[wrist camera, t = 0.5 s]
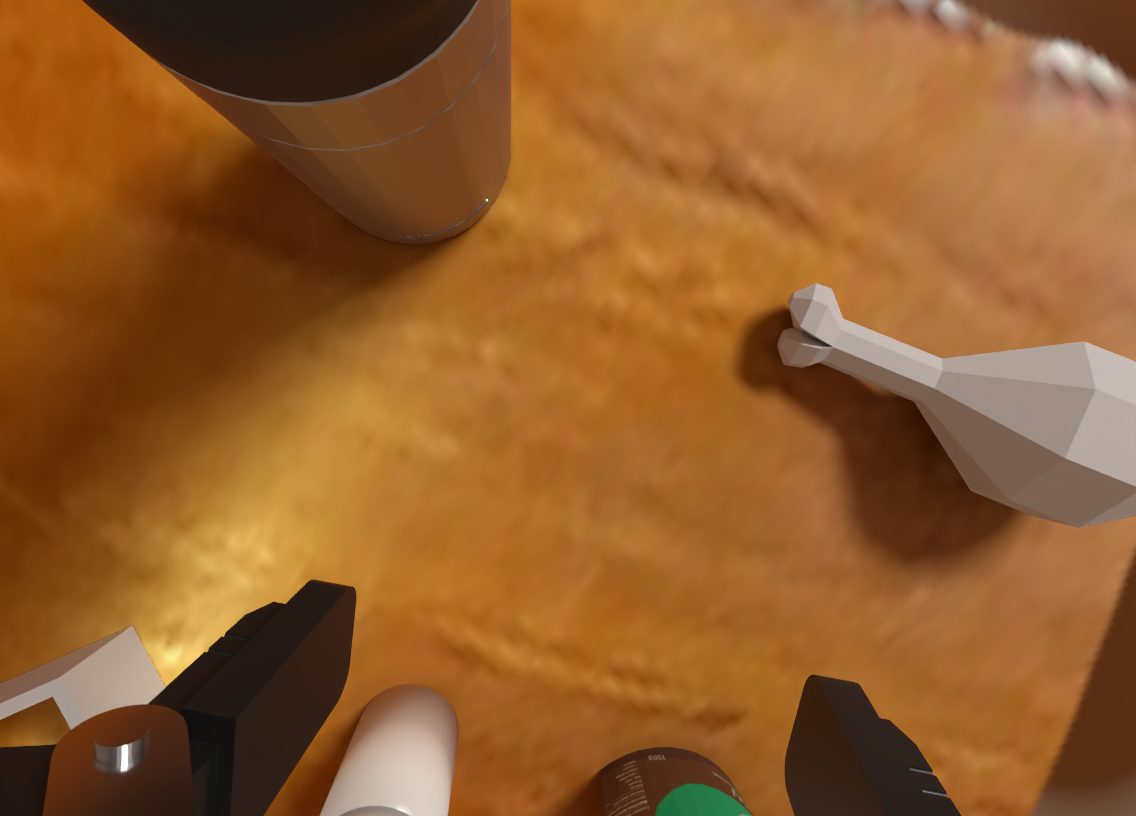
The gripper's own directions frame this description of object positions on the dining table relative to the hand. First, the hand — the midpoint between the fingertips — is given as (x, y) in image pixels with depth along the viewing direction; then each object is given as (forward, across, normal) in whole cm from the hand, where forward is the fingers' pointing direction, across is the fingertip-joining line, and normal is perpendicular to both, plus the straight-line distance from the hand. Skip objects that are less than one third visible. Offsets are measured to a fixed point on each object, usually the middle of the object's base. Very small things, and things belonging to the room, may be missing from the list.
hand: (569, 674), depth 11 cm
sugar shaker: (+18, +7, +17) cm, 25 cm away
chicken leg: (+24, -16, -4) cm, 29 cm away
